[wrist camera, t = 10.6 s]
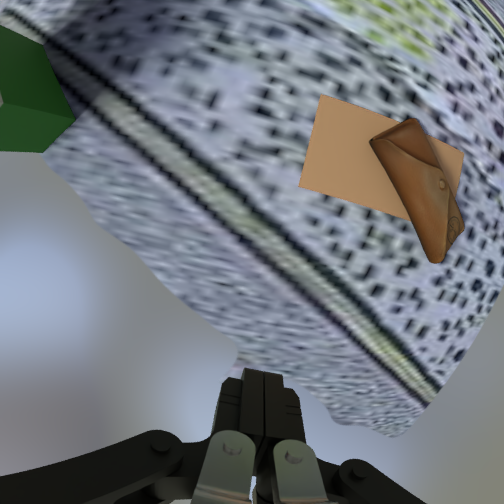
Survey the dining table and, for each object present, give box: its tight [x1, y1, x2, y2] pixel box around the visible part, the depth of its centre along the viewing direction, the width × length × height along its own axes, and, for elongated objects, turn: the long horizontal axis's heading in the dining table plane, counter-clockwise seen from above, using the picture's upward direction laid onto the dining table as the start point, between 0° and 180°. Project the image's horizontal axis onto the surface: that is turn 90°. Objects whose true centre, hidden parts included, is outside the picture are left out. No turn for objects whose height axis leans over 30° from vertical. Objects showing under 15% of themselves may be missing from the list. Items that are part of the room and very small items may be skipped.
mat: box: [298, 94, 464, 221], centre depth 35 cm, size 12×22×1 cm, turn 76°
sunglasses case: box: [369, 118, 464, 264], centre depth 34 cm, size 18×7×7 cm
